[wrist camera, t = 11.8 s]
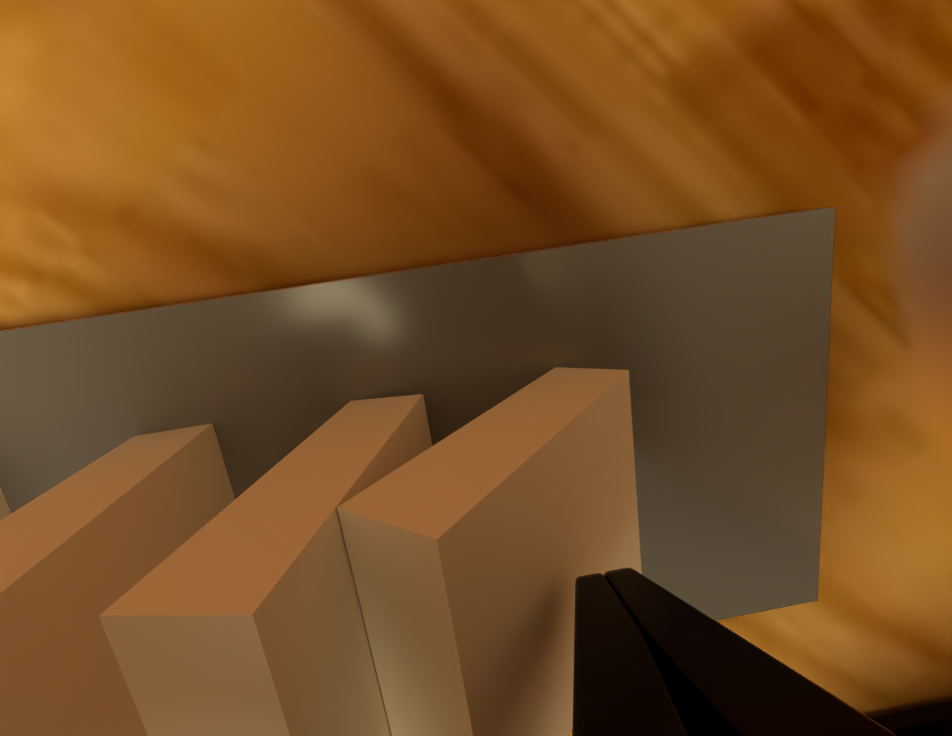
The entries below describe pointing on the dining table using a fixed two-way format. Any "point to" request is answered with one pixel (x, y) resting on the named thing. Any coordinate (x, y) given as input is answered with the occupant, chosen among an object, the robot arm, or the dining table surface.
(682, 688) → the robot arm
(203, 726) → the domino
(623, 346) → the metal plate
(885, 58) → the dining table surface
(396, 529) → the domino
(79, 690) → the domino
